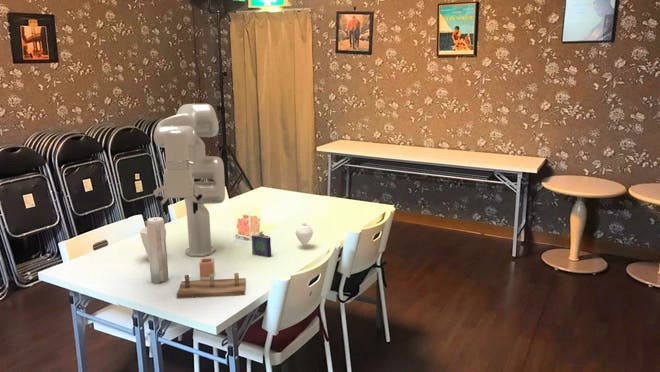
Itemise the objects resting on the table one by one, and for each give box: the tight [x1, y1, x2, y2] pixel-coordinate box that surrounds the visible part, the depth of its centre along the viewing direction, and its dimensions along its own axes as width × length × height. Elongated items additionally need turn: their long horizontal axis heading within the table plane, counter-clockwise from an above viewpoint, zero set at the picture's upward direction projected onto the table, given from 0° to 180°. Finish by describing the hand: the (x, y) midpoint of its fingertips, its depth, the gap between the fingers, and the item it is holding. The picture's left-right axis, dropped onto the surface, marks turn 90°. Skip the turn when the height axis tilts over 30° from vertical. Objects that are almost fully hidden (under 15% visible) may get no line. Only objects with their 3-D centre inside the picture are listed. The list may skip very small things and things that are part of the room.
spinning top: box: [295, 221, 314, 249], centre depth 247 cm, size 8×8×12 cm
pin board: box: [176, 272, 247, 299], centre depth 204 cm, size 12×24×6 cm, turn 96°
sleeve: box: [199, 257, 216, 280], centre depth 216 cm, size 5×5×7 cm
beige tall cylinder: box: [146, 216, 170, 285], centre depth 211 cm, size 6×6×25 cm
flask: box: [251, 231, 272, 258], centre depth 239 cm, size 9×3×11 cm, turn 65°
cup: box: [139, 226, 167, 262], centre depth 233 cm, size 10×10×14 cm
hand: (180, 213), depth 193 cm, fingers open, 9 cm apart
